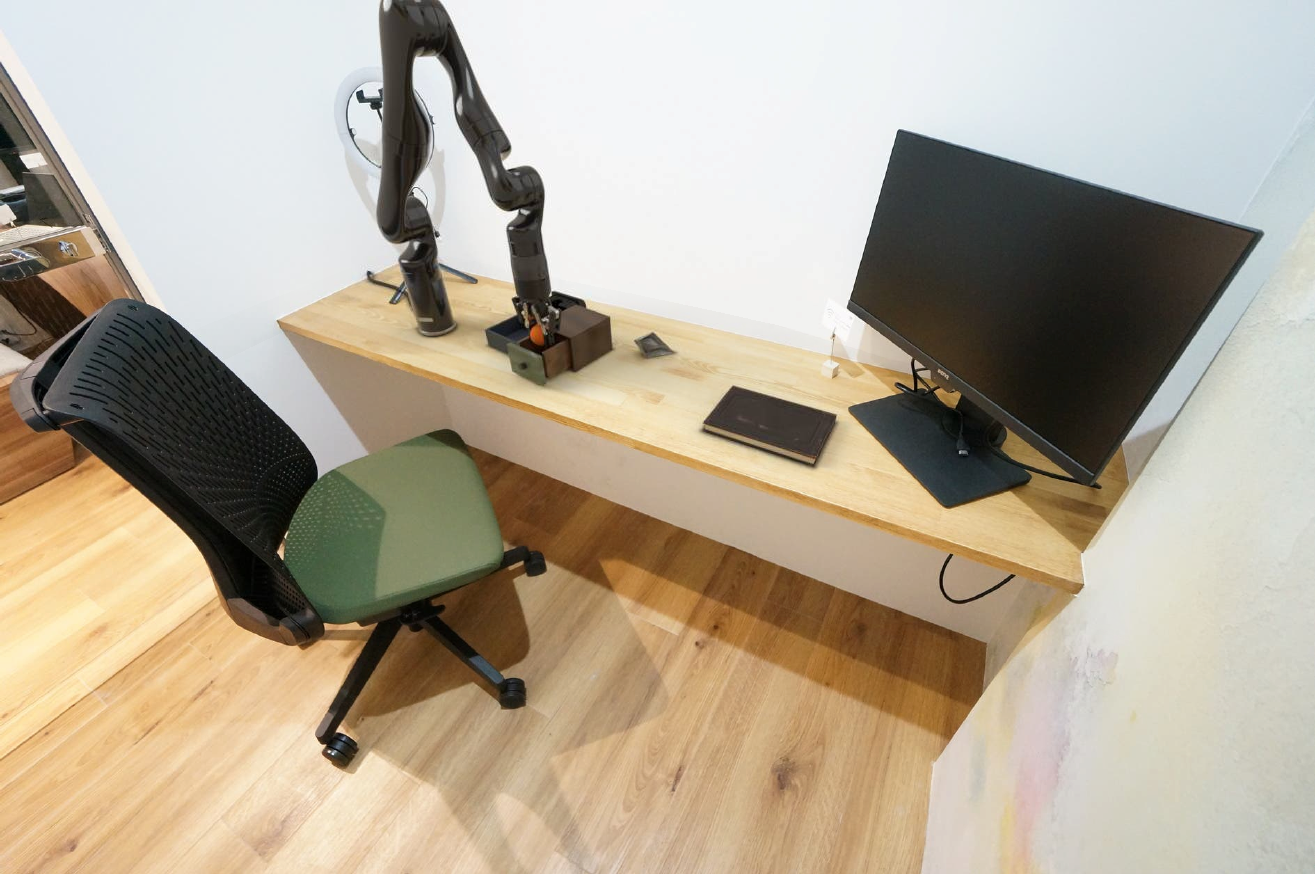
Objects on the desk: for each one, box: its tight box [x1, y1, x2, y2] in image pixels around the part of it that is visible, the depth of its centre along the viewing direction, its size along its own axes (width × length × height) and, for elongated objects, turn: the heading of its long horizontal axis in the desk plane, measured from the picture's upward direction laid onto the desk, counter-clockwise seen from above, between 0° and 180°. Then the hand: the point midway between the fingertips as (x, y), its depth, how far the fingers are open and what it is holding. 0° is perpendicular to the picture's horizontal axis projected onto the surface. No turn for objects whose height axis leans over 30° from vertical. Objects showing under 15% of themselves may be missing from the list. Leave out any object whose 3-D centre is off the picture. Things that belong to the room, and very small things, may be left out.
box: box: [484, 313, 538, 356], centre depth 136 cm, size 14×12×5 cm
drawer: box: [507, 334, 572, 387], centre depth 124 cm, size 14×10×7 cm
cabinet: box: [536, 305, 613, 373], centre depth 130 cm, size 14×12×9 cm
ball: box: [530, 325, 548, 346], centre depth 121 cm, size 5×5×5 cm
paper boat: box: [632, 331, 675, 358], centre depth 130 cm, size 12×6×9 cm
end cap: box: [545, 290, 587, 319], centre depth 146 cm, size 10×7×7 cm
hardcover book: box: [702, 384, 838, 468], centre depth 109 cm, size 16×23×2 cm
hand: (542, 344), depth 122 cm, fingers closed on ball, 4 cm apart
